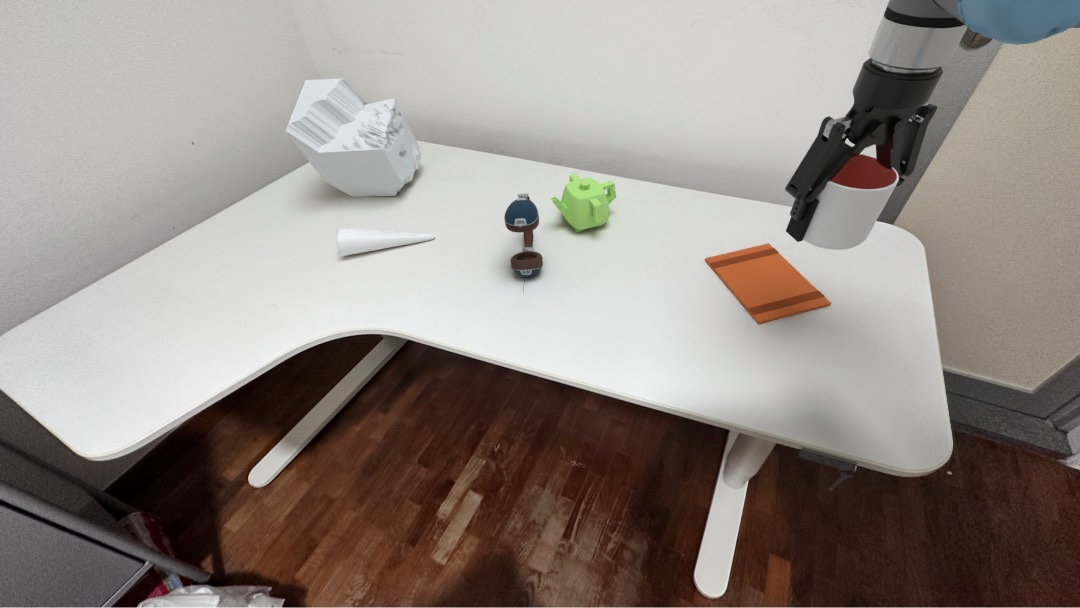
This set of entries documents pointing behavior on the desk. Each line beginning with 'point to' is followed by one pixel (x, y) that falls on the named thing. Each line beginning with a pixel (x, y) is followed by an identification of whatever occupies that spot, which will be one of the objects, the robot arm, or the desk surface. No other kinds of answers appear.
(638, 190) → the desk surface
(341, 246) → the long cone
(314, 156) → the white faceted rock
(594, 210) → the teapot
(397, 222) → the desk surface
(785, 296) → the towel
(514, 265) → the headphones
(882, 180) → the cup
